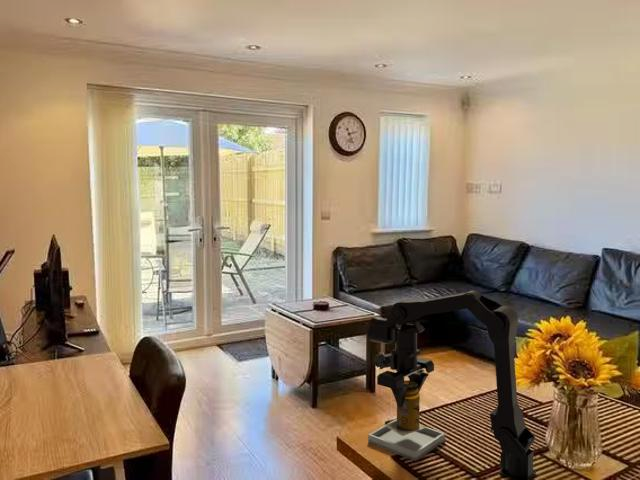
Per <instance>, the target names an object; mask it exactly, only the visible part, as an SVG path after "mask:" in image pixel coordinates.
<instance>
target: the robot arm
mask: <svg viewBox="0 0 640 480" xmlns="http://www.w3.org/2000/svg"><path fill="white" fill-rule="evenodd" d="M461 310H467V311H469V312H470V313H471V314H472V315H473V317H475V318H476V319H477V320H478V322H480V323H482V324H483V325H484V326H485V327H486V331H487V335H488V338H489V340H490V342H491V344H492V346H493V350H494V351H493V353H494V367H495V381H496V392H497V393H496V394H497V406H496V407H495V408H494V409H493V410H492V411H491V412H490V414H489V420H490V423H491V427H490V432H492V433H493V437H494V438H495V440H497V441H498V443H499V447H500V450H501V451H500V465H499V466H500V468H501V469H500V470H499V471H498V474H499V475H500V476H501V475H502V476H503V477H506V478H510V479H512V480H530V479H532V478H533V476H535V475H536V473H537V470H535V469H534V450H533V449H531V446H532V445H534V443H535V440H536V436H535V435H534V434H533V433H532V431H531V430H530V429H529V428H528V427H527V426H526V421H525V417H524V413H523V410H522V409H521V407H520V405H519V403H518V394H517V393H518V391H517V389H518V388H517V377H516V362H515V348H514V347H515V346H514V344H515V340H516V337H517V332H518V326H519V325H518V323H519V316H518V313H517V311H516V310H515V309H513V308H512V307H509V306H507V305H503V304H501V303H500V302H498V301H497V300H494V299H492V298H489V297H488V296H485V295H483V294H482V293H481V292H479V291H478V290H470V291H467V292H461V293H456V294H451V295H445V296H440V297H434V298H418V297H417V298H416V297H411V298H410V297H409V298H406V299H403V300H400V301H398V302H395V303H393V305H392V307H391V311H390V312H391V313H390V314H389V315H388V317H387V318H385V317H384V318H383V317H380V316H374V317H371V322H370V323H369V326H368V330H367V338H368V340H369V341H370V342H372V343H373V342H374V343H380V344H385V345H391V344H392V343H393V342H394V343H395V344H394V347H395V348H394V349H392V350H391V352H390V353H386V354H383V353H380V354H376V355H374V365H375V367H377V368H379V370H384V369H386V368H389V370H385V371H383V372H380V373H379V374H378V375H377V376H376V384H377V385H379V386H382V387H386V388H387V389H390V390H391V391H392V394H393V398H394V399H395V402H396V406H397V405H398V407H402V405H403V402H404V398H405V394H406V390H407V386H408V385H407V384H404V381H405V378H407V379H408V381H414V382H416V383H417V384H418V393H419V394H420V391H421V389H422V387H423V385H424V383H425V382H426V380H427V378H429V375H430V374H431V373H432V372H434V371H435V363H434V362H433V361H432V360H431V359H428V358H423V357H419V355H421V350H420V349H418V339H417V338H418V334H421V333H422V332H424V331H425V327H424V326H423V325H421V324H420V322H419V321H416V322H414V323H411V322H412V321H415V320H418V319H420V318H423V317H425V316H431V315H436V314H437V315H438V314H442V313H450V312H455V311H461ZM399 324H400V325H399ZM392 370H393V371H392ZM394 371H396V372H394ZM425 371H426V372H425Z"/></svg>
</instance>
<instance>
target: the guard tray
mask: <svg viewBox="0 0 640 480" xmlns="http://www.w3.org/2000/svg"><path fill="white" fill-rule="evenodd" d="M395 421H397V418H395V419H393V420H392V421H389V422H388V423H387V424H389V423H392V422H395ZM425 427H426V428H424V429H421V430H418V431H416V432H412V433H409V434H407V435H404V436H402V435H400V434H398V433H396V432H394V431H393V430H391V429H390V428H388V427H387V426H385V425H383V426H381V427H379V428H377V429H376V430H374V431H372V432H370V433H369V434H368V435H367V439H368V440H367V441H368V443H370V444H372V445H374V446H377V447H379V448H381V449H384V450H385V451H386V450H387V451H389V452H391V453H394V454H396V455H399V456H401V457H404V458H406V459H409V460H410V461H411V460H412V461H414V462H417V461H418V460H420V459H422V458H423V457H424V456H425V455H427V454H428V453H430V452H431V451H433V450H434V449H436V448H437V447H439V446H440V445H442V444H443V443H445V442H446V433H445V432H442V431H440V430H436V429H434V428H430V427H427V426H425ZM444 441H445V442H444ZM441 443H442V444H441ZM439 444H440V445H439ZM438 445H439V446H438ZM435 447H436V448H435Z"/></svg>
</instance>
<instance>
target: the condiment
mask: <svg viewBox="0 0 640 480" xmlns="http://www.w3.org/2000/svg"><path fill="white" fill-rule="evenodd" d="M404 384H407V385H408V386H407V390H406V394H405V398H404V402H403V405H402V407H398V405H397V404H396V419H397V421H395V422H392V421H391V422H392V423H390V422H388V423H389V424H388V423H386V424H384V426H387V427H388V428H390V429H391V430H393V431H394V432H396V433H398V434H400V435H402V436H404V435H407V434H409V433H412V432H416V431H418V430H421V429H424V428H426V427H427V426H425V425H423V424H421V423H420V418H421V417H420V408H421V407H420V402H421V401H420V396H421V395H420V392H419V393H418V384H417V383H416V382H414V381H410V380H409V379H408V380H404Z"/></svg>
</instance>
